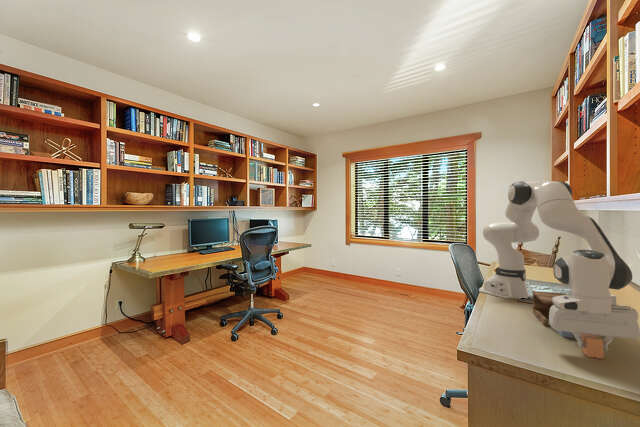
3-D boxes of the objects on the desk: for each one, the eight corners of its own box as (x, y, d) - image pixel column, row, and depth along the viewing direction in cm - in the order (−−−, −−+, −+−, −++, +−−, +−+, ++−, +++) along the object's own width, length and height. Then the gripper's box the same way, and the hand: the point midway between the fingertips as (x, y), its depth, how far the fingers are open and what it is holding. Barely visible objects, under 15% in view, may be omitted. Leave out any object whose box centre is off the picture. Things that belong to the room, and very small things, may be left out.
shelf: (533, 313, 116) (532, 291, 116) (566, 317, 111) (566, 293, 111) (545, 327, 103) (544, 301, 103) (584, 331, 98) (583, 304, 98)
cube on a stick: (554, 328, 101) (553, 314, 101) (578, 331, 98) (577, 316, 98) (580, 355, 82) (579, 337, 82) (611, 359, 79) (610, 341, 79)
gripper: (630, 303, 81) (632, 348, 81) (546, 297, 89) (547, 338, 89) (645, 310, 75) (647, 359, 75) (553, 303, 83) (555, 347, 83)
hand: (592, 347), depth 82 cm, fingers closed on cube on a stick, 4 cm apart
